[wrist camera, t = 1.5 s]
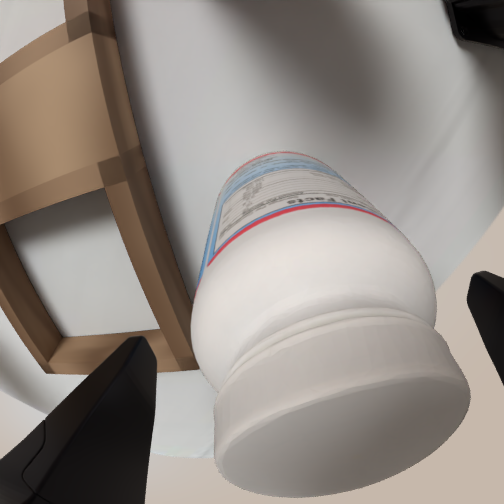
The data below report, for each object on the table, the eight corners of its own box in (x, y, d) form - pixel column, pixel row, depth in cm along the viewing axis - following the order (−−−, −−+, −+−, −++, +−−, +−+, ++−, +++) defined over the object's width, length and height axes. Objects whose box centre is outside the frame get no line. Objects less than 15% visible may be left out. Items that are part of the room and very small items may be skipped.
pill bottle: (308, 287, 16) (363, 504, 6) (196, 243, 15) (138, 484, 5) (371, 185, 14) (544, 366, 4) (251, 123, 12) (279, 252, 2)
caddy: (99, -109, 5) (82, -128, 3) (203, 336, 18) (199, 369, 15) (-44, -12, 6) (-68, -14, 4) (59, 348, 18) (45, 373, 16)
